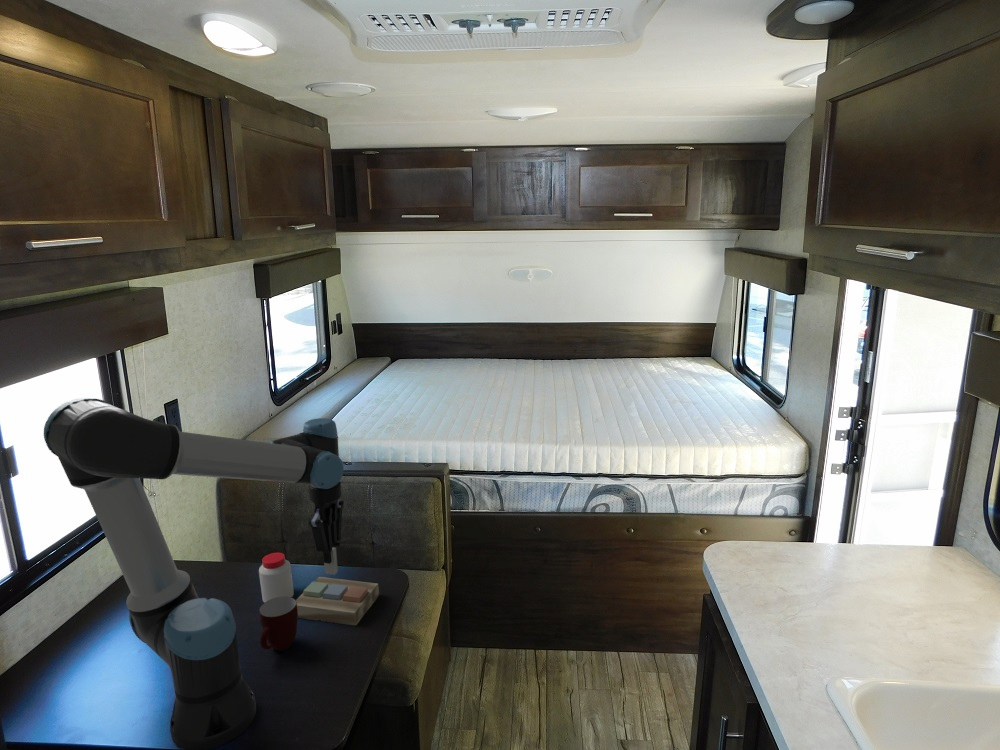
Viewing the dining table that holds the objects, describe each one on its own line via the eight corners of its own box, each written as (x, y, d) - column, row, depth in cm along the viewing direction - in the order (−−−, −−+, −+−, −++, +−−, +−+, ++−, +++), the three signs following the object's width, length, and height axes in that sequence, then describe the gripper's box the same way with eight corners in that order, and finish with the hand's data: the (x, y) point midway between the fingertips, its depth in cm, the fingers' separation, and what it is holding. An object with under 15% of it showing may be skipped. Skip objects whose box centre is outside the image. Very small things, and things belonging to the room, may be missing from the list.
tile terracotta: (360, 608, 155) (359, 597, 154) (344, 606, 156) (343, 595, 155) (368, 598, 159) (367, 587, 158) (352, 596, 160) (351, 586, 159)
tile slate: (340, 606, 156) (339, 595, 156) (324, 604, 157) (323, 593, 157) (348, 596, 160) (347, 585, 160) (332, 594, 161) (331, 583, 161)
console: (355, 625, 151) (354, 612, 150) (292, 617, 155) (291, 604, 154) (379, 595, 163) (378, 583, 162) (320, 588, 167) (318, 576, 167)
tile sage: (320, 603, 158) (319, 592, 157) (304, 601, 159) (303, 590, 158) (329, 593, 162) (328, 583, 161) (313, 592, 163) (312, 581, 162)
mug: (285, 665, 138) (280, 625, 135) (251, 663, 139) (245, 622, 137) (307, 635, 148) (302, 597, 146) (275, 633, 149) (270, 595, 147)
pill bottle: (261, 592, 166) (256, 554, 164) (291, 585, 170) (287, 547, 167) (263, 607, 160) (258, 568, 157) (295, 599, 163) (291, 560, 160)
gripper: (324, 494, 145) (331, 588, 149) (351, 474, 157) (357, 561, 162) (295, 491, 147) (303, 584, 151) (324, 472, 159) (330, 558, 164)
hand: (331, 572), depth 157 cm, fingers closed
